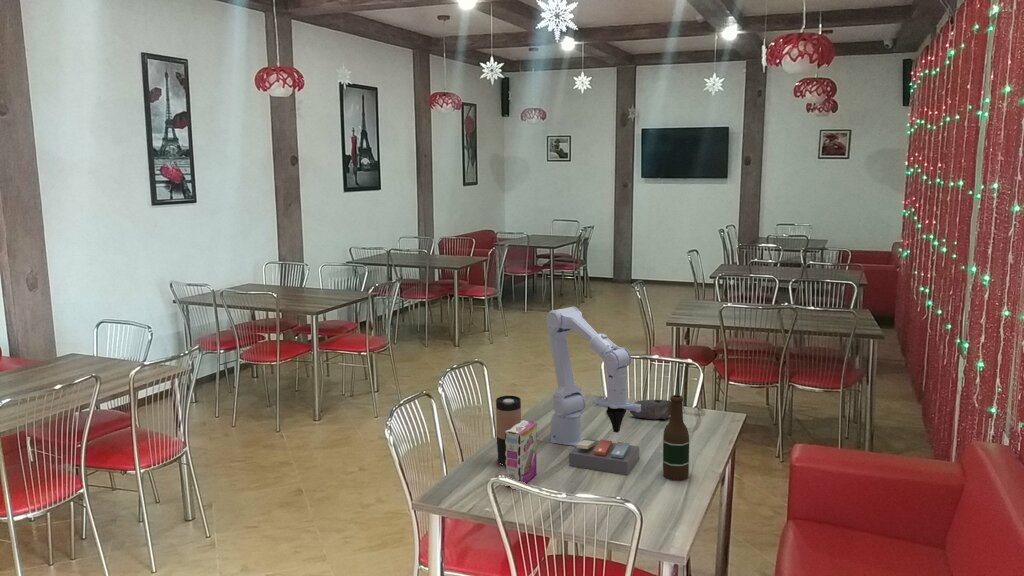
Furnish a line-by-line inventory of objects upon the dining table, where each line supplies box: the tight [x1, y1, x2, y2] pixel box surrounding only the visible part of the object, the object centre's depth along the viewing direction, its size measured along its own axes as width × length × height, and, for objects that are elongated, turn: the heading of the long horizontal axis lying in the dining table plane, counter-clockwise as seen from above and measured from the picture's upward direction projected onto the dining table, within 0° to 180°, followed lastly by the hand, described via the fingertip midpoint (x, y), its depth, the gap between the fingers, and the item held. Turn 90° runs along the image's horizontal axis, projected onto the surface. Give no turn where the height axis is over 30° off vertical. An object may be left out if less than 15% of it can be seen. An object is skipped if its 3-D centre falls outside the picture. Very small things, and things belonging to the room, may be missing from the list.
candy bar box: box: [505, 419, 538, 484], centre depth 217 cm, size 11×5×16 cm, turn 152°
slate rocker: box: [611, 441, 630, 458], centre depth 226 cm, size 4×7×1 cm, turn 155°
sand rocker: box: [575, 440, 595, 449], centre depth 231 cm, size 4×7×1 cm, turn 155°
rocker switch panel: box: [568, 438, 640, 476], centre depth 230 cm, size 18×13×4 cm
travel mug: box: [495, 395, 522, 466], centre depth 231 cm, size 8×8×20 cm
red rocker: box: [593, 439, 613, 456], centre depth 228 cm, size 4×7×1 cm, turn 155°
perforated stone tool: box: [629, 399, 671, 421], centre depth 267 cm, size 15×5×7 cm, turn 74°
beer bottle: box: [662, 394, 690, 481], centre depth 218 cm, size 8×8×24 cm
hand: (616, 431), depth 230 cm, fingers closed
